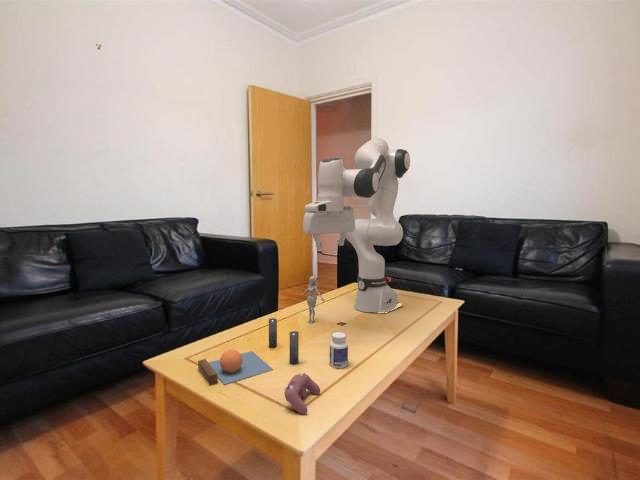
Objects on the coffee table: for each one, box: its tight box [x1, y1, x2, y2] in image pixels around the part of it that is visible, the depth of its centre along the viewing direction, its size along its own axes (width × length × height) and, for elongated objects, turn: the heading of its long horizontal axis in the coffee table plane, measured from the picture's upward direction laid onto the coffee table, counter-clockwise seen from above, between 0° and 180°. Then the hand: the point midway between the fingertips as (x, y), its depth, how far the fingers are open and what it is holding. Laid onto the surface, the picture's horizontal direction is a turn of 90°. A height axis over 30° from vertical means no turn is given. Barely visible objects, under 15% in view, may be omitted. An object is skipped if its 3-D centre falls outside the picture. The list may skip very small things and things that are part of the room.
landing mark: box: [207, 350, 274, 386], centre depth 97 cm, size 14×14×1 cm
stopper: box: [197, 358, 219, 386], centre depth 92 cm, size 2×10×2 cm, turn 36°
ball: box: [219, 348, 242, 373], centre depth 94 cm, size 6×6×6 cm
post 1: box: [268, 317, 278, 349], centre depth 110 cm, size 3×3×9 cm
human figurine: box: [300, 275, 326, 325], centre depth 132 cm, size 12×4×18 cm, turn 48°
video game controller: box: [284, 372, 321, 415], centre depth 81 cm, size 10×5×7 cm, turn 160°
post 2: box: [289, 330, 300, 366], centre depth 99 cm, size 3×3×9 cm
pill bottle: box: [329, 332, 349, 369], centre depth 99 cm, size 5×5×9 cm
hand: (329, 246), depth 119 cm, fingers open, 8 cm apart
